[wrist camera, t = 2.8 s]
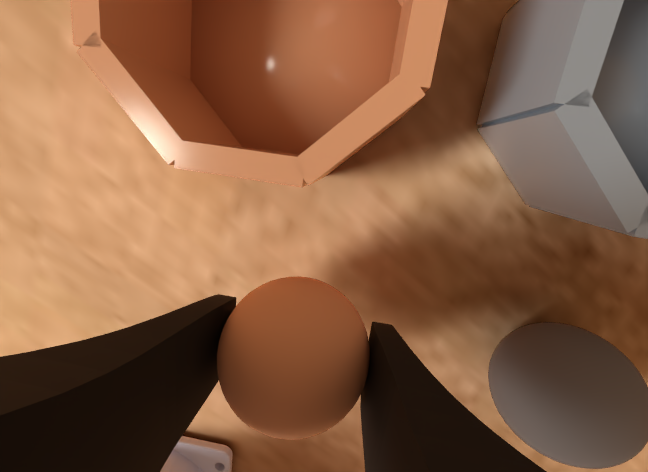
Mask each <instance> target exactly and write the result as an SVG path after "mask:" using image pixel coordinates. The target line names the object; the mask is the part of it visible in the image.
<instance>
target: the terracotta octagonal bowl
mask: <svg viewBox="0 0 648 472" xmlns="http://www.w3.org/2000/svg"><path fill="white" fill-rule="evenodd" d="M447 3H448V0H71V15H72V30H73V44H74V45H76V46H79V47H80V48H79V49H78V51H77V53H78V54H79V56H80V57H81V58H82V59H83V60H84V62H85V63H86V64H87V65H88V67H89V68H90V69H91V70H92V71H93V73H94V74H95V75H96V76H97V78H98V79H99V80H100V81H101V82H102V84H103V85H104V86H105V87H106V89H107V90H108V91H109V92H110V94H111V95H112V96H113V97H114V98H115V100H116V101H117V102H118V103H119V105H120V106H121V107H122V108H123V109H124V111H125V112H126V113H127V114H128V116H129V117H130V118H131V119H132V120H133V122H134V123H135V124H136V125H137V127H138V128H139V129H140V130H141V132H142V133H143V134H144V135H145V136H146V138H147V139H148V140H149V141H150V143H151V144H152V145H153V146H154V147H155V149H156V150H157V151H158V152H159V154H160V155H161V156H162V157H163V158H164V160H165V161H166V162H167V163H168V165H174V168H176V169H183V170H190V171H197V172H203V173H210V174H217V175H223V176H230V177H237V178H243V179H250V180H257V181H263V182H270V183H277V184H284V185H290V186H297V187H303V186H305V185H307V184H308V186H309V185H310V184H312V183H314V182H316V181H318V180H319V179H321V178H323V177H325V176H327V175H328V174H329V173H331V172H332V171H333V170H334V169H336V168H337V167H338V166H340V165H341V164H342V163H344V162H345V161H346V160H347V159H349V158H350V157H351V156H353V155H354V154H355V153H357V152H358V151H359V150H360V149H362V148H363V147H364V146H366V145H367V144H368V143H370V142H371V141H372V140H373V139H375V138H376V137H377V136H379V135H380V134H381V133H383V132H384V131H385V130H386V129H388V128H389V127H390V126H392V125H393V124H394V123H395V122H397V121H398V120H399V119H401V118H402V117H403V116H404V115H405V114H406V113H407V112H408V111H409V110H410V109H411V108H412V107H413V106H414V105H415V104H416V103H418V102H419V101H420V100H421V99H422V98H423V97H424V96H425V92H426V91H427V90H428V89H429V88H430V86H431V81H432V76H433V71H434V66H435V61H436V56H437V52H438V47H439V42H440V37H441V32H442V27H443V22H444V18H445V13H446V8H447Z"/></svg>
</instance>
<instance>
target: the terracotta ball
mask: <svg viewBox="0 0 648 472" xmlns="http://www.w3.org/2000/svg"><path fill="white" fill-rule="evenodd" d="M369 362H370V348H369V342H368V336H367V332H366V329H365V326H364V323H363V321H362V319H361V317H360V315H359V313H358V312H357V310H356V309H355V307H354V306H353V305H352V303H351V302H350V301H349V300H348V299H347V298H346V297H345V296H344V295H343V294H342V293H341V292H339V291H338V290H337V289H335V288H334V287H332V286H330V285H328V284H326V283H324V282H322V281H319V280H316V279H312V278H307V277H286V278H280V279H276V280H273V281H270V282H268V283H265V284H263V285H261V286H260V287H258V288H256V289H255V290H253V291H251V292H250V293H249V294H248V295H247V296H245V297H244V298H243V299H242V300H241V301H240V302H239V304H238V305H237V306H236V307H235V308H234V310H233V311H232V313H231V314H230V316H229V317H228V319H227V321H226V323H225V325H224V328H223V330H222V333H221V336H220V340H219V345H218V351H217V372H218V378H219V382H220V385H221V388H222V392H223V394H224V396H225V398H226V400H227V402H228V404H229V405H230V407H231V408H232V410H233V411H234V412H235V414H236V415H237V416H238V417H239V418H240V419H241V420H242V421H243V422H244V423H245V424H247V425H248V426H249V427H251V428H252V429H254V430H256V431H258V432H260V433H262V434H264V435H267V436H270V437H274V438H278V439H285V440H297V439H304V438H309V437H312V436H315V435H318V434H320V433H322V432H325V431H326V430H328V429H330V428H331V427H333V426H334V425H336V424H337V423H338V422H339V421H341V420H342V419H343V418H344V417H345V416H346V415H347V414H348V412H349V411H350V410H351V409H352V408H353V406H354V405H355V403H356V402H357V400H358V398H359V396H360V394H361V392H362V390H363V388H364V386H365V382H366V378H367V375H368V370H369Z"/></svg>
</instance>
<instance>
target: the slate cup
mask: <svg viewBox="0 0 648 472" xmlns="http://www.w3.org/2000/svg"><path fill="white" fill-rule="evenodd" d="M476 125H482V126H481V127H480V128H478V129H477V130H478V131H479V133H480V134H481V136H482V138H483V139H484V141H485V142H486V144H487V145H488V147H489V148H490V150H491V152H492V153H493V155H494V156H495V158H496V159H497V161H498V162H499V164H500V166H501V167H502V169H503V170H504V172H505V173H506V175H507V176H508V178H509V180H510V181H511V183H512V184H513V186H514V187H515V189H516V190H517V192H518V194H519V195H520V197H521V198H522V200H523V201H524V203H525V204H527V205H529V207H533V208H536V209H540V210H543V211H546V212H550V213H553V214H557V215H560V216H564V217H567V218H571V219H574V220H577V221H581V222H584V223H588V224H591V225H595V226H598V227H602V228H605V229H608V230H612V231H615V232H619V233H622V234H626V235H629V236H633V237H638V238H645V239H648V0H519V1H518V2H517V3H516V4H515V5H514V6H513V7H512V8H511V9H510V10H509V11H508V12H507V14H506V15H505V16H504V17H503V20H502V24H501V28H500V32H499V36H498V40H497V44H496V48H495V52H494V56H493V60H492V64H491V68H490V72H489V76H488V80H487V84H486V88H485V92H484V96H483V100H482V104H481V108H480V112H479V116H478V120H477V124H476Z"/></svg>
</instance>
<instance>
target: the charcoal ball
mask: <svg viewBox="0 0 648 472" xmlns="http://www.w3.org/2000/svg"><path fill="white" fill-rule="evenodd" d="M488 378H489V387H490V391H491V395H492V398H493V401H494V403H495V405H496V408H497V410H498V411H499V413H500V415H501V416H502V418H503V419H504V421H505V422H506V424H507V425H508V426H509V427H510V428H511V429H512V431H513V432H514V433H515V434H516V435H517V436H518V437H519V438H520V439H522V440H523V441H524V442H525V443H526V444H527V445H529V446H530V447H532V448H533V449H535V450H536V451H538V452H539V453H541V454H543V455H545V456H547V457H549V458H551V459H553V460H555V461H557V462H560V463H563V464H567V465H570V466H574V467H580V468H590V469H601V468H608V467H613V466H616V465H619V464H622V463H624V462H626V461H628V460H630V459H632V458H633V457H634V456H636V455H637V454H638V453H639V452H640V451H641V450H642V449H643V448H644V446H645V445H646V443H647V442H648V387H647V385H646V383H645V381H644V379H643V377H642V376H641V374H640V373H639V371H638V370H637V369H636V367H635V366H634V365H633V364H632V362H631V361H630V360H629V359H628V358H627V357H626V356H625V355H624V354H623V353H622V352H621V351H619V350H618V349H617V348H616V347H615V346H613V345H612V344H610V343H609V342H608V341H606V340H604V339H603V338H601V337H599V336H597V335H595V334H594V333H591V332H589V331H587V330H584V329H581V328H579V327H575V326H571V325H567V324H561V323H536V324H531V325H527V326H524V327H521V328H519V329H516V330H514V331H513V332H511V333H510V334H508V335H507V336H506V337H505V338H504V339H503V340H502V341H501V342H500V343H499V344H498V345H497V347H496V349H495V351H494V352H493V354H492V357H491V360H490V364H489V372H488Z"/></svg>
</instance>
